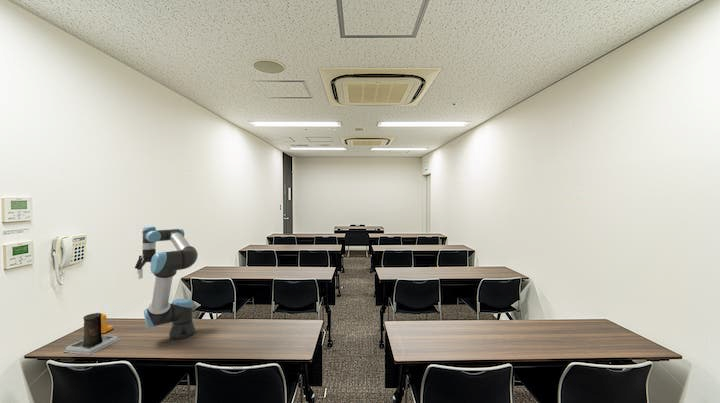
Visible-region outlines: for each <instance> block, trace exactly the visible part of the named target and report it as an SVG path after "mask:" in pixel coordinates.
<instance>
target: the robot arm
mask: <svg viewBox="0 0 720 403" xmlns="http://www.w3.org/2000/svg"><path fill="white" fill-rule="evenodd" d="M141 234H142V249H141V250H142V253H141V254H142V255H138V259H137V262H136V263H135V266H134V269H137V277H138V278H137V279H138V280H141V279H143V275H144V274H143V270H144V269H143V267H144V266H145V265H146V263H150V265H149V266H150V267H149V268H150V273H152V274H153V275H154V277H155V281H154V286H153V292H152V293H153V294H152V301H151V302H150V304H149V305H148V307H147V308H145V309H144V310H143V315H144V321H145V325H146V327H147V328H154V327H158V326H162V325H166V324H169V323H171V327H170V330H169V333H168V338H169V339H171V340H174V341H176V340H183V339H188V338H189V337H192V336H194V335H195V334H196V327H195V324H194V321H193V319H194V318H193V312H194V311H193V310H194V309H193V308H194V305H193V301H192V299H190V298H177V299H174V300H172V301H171V303H170V302H169V301H170V294H171V290H172V289H171V288H172V282H173V277H174V276H176V275H177V271H182V270H186V269H189V268H191V267H192V266H193V265H195V263H196V261H197V259H198V256H199V255H198V254H199V253H198V251H197V249H196V248H195V247H194V246H192V245H190V243H189V241H188V240H187V239H186V238H185V231H184V229H183V228H174V229H173V228H172V229H159V230H158V229H157V228H156V227H155V226H144V227H142V231H141ZM165 241H171V243H172V244H173V247H174V248H176V250H172V251H160V252H156V251H157V250H156V247H157V246H156V244H157V242H165Z"/></svg>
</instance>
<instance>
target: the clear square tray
mask: <svg viewBox="0 0 720 403" xmlns="http://www.w3.org/2000/svg"><path fill="white" fill-rule="evenodd" d="M101 337H102V343H100V344H97V345H95V346H93V347H90V348H86V347H82V345H83V341H84V339H81V340H79V341H77V342H75V343H72V344H69V345H67V346H66V347H65V350H63V351H62V353H63V352H70V353H69V354H72V353H76V354H75V355H85V356H87V355H88V356H90V355H93V354H95V353H97V352H98V351H101V350H103V349H105V348H107V347H109V346H110V345H113V344H115V343H117V342H119V341H120V338H118V336H117V335H110V334H109V335H108V334H107V335H106V334H101Z"/></svg>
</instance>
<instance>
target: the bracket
mask: <svg viewBox="0 0 720 403" xmlns="http://www.w3.org/2000/svg"><path fill="white" fill-rule="evenodd" d="M101 314H102V315H101V333H102V334H105V333H107V332H108V331H109V332H110V331H111V330H112V329H113V327H114V325H107V324H106V320H107V315H106V314H104V313H101Z"/></svg>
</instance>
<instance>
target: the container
mask: <svg viewBox="0 0 720 403" xmlns="http://www.w3.org/2000/svg"><path fill="white" fill-rule="evenodd" d="M102 314H103V313H101V312H93V313H90V314H86V315H84V316H83V318H82V319H83V339H84V341H83V345H82V347H86V348H90V347H93V346H95V345H97V344H100V343H102V337H101V335H103V333H101V315H102ZM83 339H82V340H83Z"/></svg>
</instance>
